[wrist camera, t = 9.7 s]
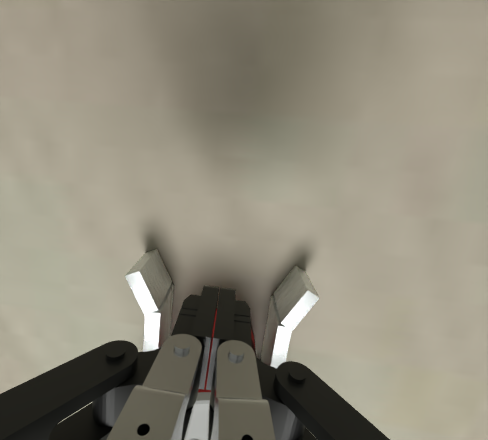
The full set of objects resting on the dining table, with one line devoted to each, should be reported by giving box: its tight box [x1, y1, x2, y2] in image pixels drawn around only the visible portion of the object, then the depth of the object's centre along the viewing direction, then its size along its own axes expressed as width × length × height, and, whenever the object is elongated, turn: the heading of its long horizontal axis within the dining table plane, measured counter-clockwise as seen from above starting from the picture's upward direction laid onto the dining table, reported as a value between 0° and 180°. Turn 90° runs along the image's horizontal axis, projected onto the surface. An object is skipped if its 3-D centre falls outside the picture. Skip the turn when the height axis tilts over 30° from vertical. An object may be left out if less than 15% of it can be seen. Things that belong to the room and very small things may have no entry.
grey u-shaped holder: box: [125, 249, 319, 368], centre depth 24 cm, size 20×15×12 cm
